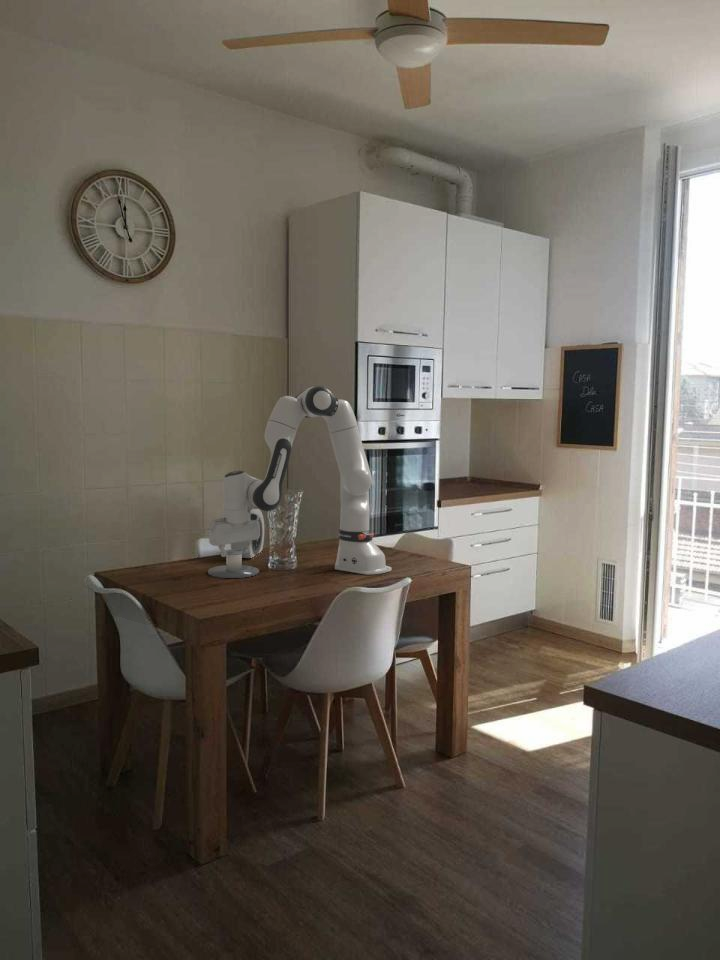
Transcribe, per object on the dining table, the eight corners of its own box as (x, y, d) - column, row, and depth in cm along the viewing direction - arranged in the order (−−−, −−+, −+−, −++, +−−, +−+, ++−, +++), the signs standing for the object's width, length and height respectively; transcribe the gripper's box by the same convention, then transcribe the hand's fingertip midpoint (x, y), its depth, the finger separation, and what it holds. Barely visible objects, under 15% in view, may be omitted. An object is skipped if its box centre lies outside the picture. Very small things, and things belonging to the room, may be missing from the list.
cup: (245, 570, 275) (245, 551, 275) (232, 572, 271) (232, 553, 270) (235, 567, 279) (235, 548, 279) (222, 569, 275) (222, 550, 275)
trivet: (269, 573, 275) (269, 571, 275) (227, 581, 263) (227, 578, 263) (238, 565, 288) (238, 562, 288) (198, 572, 275) (198, 569, 275)
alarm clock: (248, 561, 296) (249, 510, 294) (230, 560, 297) (230, 509, 295) (264, 551, 317) (264, 503, 315) (246, 550, 318) (247, 502, 316)
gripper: (215, 520, 263) (216, 560, 265) (262, 514, 278) (262, 552, 280) (205, 518, 268) (205, 557, 269) (251, 512, 282) (252, 549, 284)
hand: (235, 554), depth 275 cm, fingers open, 8 cm apart
